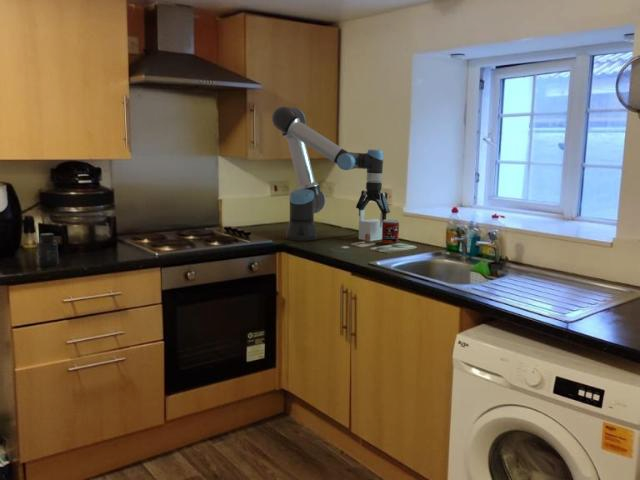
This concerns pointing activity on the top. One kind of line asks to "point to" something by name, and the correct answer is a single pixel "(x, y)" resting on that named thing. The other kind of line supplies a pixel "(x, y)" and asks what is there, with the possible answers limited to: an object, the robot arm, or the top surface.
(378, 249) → the board
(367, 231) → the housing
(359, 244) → the plate
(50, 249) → the supplement bottle
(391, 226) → the canned food
